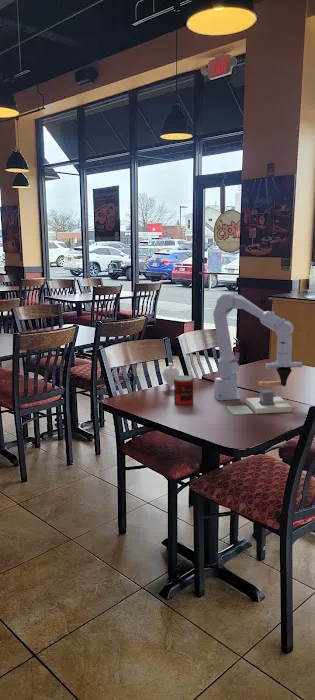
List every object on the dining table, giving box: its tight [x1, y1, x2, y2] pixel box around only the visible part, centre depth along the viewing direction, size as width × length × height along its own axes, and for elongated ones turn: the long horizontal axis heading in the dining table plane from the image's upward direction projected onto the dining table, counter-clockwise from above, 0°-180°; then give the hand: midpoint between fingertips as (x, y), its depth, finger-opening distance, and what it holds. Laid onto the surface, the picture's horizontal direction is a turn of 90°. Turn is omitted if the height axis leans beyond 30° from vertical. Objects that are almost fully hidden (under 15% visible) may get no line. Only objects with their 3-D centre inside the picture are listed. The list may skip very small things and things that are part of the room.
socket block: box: [245, 386, 293, 415], centre depth 203 cm, size 14×14×7 cm
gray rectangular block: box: [259, 389, 274, 406], centre depth 202 cm, size 4×4×7 cm
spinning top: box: [162, 362, 180, 390], centre depth 232 cm, size 8×8×12 cm
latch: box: [258, 380, 288, 388], centre depth 207 cm, size 11×2×2 cm, turn 94°
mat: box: [226, 405, 255, 416], centre depth 200 cm, size 8×10×1 cm
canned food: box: [173, 375, 194, 407], centre depth 210 cm, size 8×8×11 cm
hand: (283, 385), depth 206 cm, fingers closed, pressing on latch
